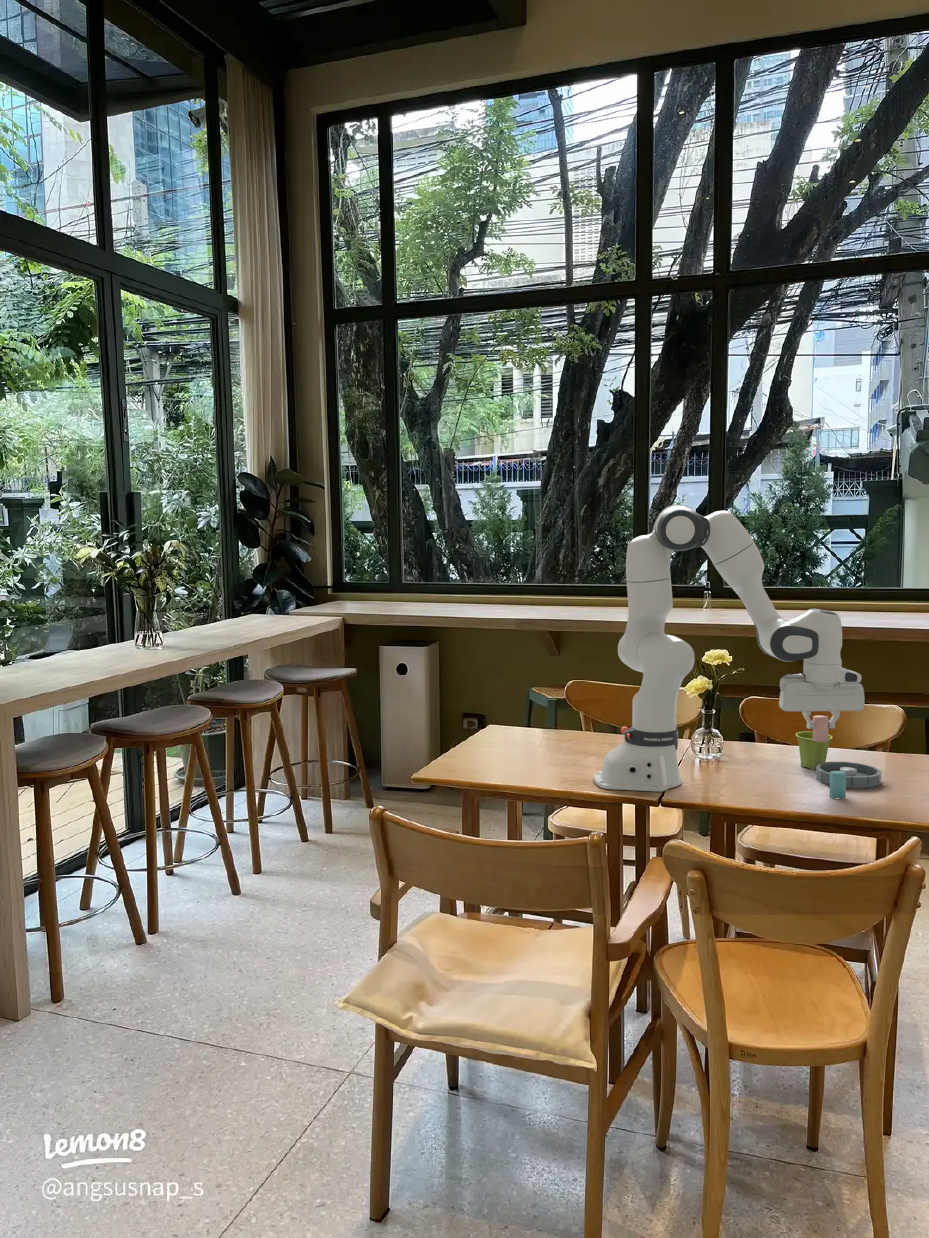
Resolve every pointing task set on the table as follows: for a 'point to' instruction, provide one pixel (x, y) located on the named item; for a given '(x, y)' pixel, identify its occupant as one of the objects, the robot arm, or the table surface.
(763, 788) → the table surface
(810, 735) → the plant pot
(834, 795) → the teal block
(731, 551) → the robot arm
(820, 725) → the pink cylinder
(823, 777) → the groove tray
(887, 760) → the table surface
